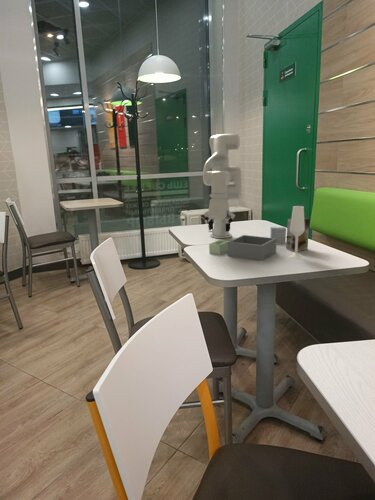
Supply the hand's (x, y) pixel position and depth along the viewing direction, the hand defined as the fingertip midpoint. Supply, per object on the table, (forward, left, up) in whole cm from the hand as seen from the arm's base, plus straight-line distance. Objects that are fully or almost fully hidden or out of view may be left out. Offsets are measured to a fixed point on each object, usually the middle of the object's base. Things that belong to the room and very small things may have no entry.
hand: (219, 230), depth 180 cm
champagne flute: (+37, +9, -11) cm, 40 cm away
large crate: (+17, +3, -11) cm, 20 cm away
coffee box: (+33, +23, -11) cm, 42 cm away
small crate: (0, 0, -11) cm, 11 cm away
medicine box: (+19, +33, -12) cm, 40 cm away
